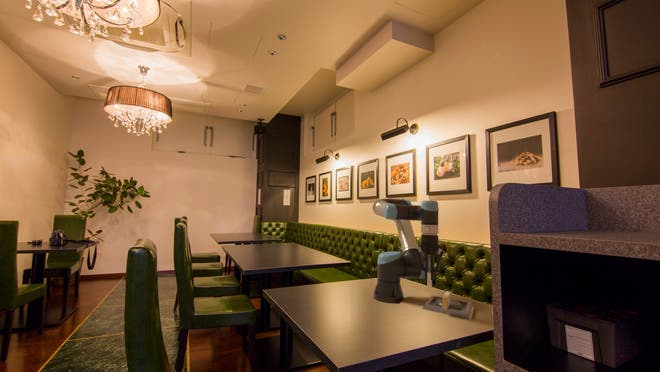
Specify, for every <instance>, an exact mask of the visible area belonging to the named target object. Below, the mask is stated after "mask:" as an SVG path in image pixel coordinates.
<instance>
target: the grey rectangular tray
mask: <svg viewBox="0 0 660 372" xmlns="http://www.w3.org/2000/svg"><path fill="white" fill-rule="evenodd" d="M442 297H443V296H437V295H431V296H430V297H429V298H428V300H427V301H426V302H425V303H424V304H423V307H421V309H422V310H426V311H430V312H435V313H440V314H445V315H449V316H450V315H452V316H455V317H460V318H465V319H470V320H471V319H472V317H473V313H474V309H475V306H473V302H472V301H467V300H461V299H455V298H450V300H454V301H457V302H460V303H461V304H462V311H460V310H455V309H449V308H448V309H447V310H445V309H442V307H439V306H436V300H437V299H442Z"/></svg>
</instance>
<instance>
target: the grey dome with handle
mask: <svg viewBox="0 0 660 372" xmlns="http://www.w3.org/2000/svg"><path fill="white" fill-rule="evenodd" d="M441 297H442V299H437V300H436V306H439V307H442V309H445V310H447V309H448V308H449V309H455V310H460V311H462V304H461V303H460V302H457V301H454V300H450V299H451V293H450V292H448V291H445V293H444V294H443V296H441Z"/></svg>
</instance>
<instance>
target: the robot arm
mask: <svg viewBox="0 0 660 372" xmlns="http://www.w3.org/2000/svg"><path fill="white" fill-rule="evenodd" d="M372 210H373V213H374V214H375V215H377V216H380V217H383V218H384V219H385V220H389V221H391V220H392V221H393V222H394V223H395V225H396V229H397V233H398V234H397V235H398V236H399V242H400V246H401V250H402V252H401V251H385V252H381V253H379V254H378V256H377V257H378V258H377V281H376V285H375V288H374V291H373V298H374V299H375V300H377V301H379V302H383V303H394V304H395V303H397V304H398V303H401V302H402V303H403V301H404V297H405V296H404V292H403V289H402V285H401V279H425V280H427V281H426V282H427V283H426V284H427V285H426V287H427V289H429V288H430V289H431V288H432V286H433V281H434V280H435V273H438V272H439V271H440V266H441V262H442V259H443V256H444V254H445V253H446V252H445V250H443V249H441V248H440V245H439V210H440V209H439V202H438V201H437V200H422V201H421V205H414V204H412V202H411V201H410V200H409V199H404V198H400V199H399V198H381V199H378V200H376V201H375V202H374V204H373V205H372ZM411 221H418V222H420V233H421V234H420V245H418V242H417V239H416V236H415V235H416V234H415V232H414V229H413V226H412V223H411ZM437 253H438V256H437V260H436V265H435V255H436V254H437Z"/></svg>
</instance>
